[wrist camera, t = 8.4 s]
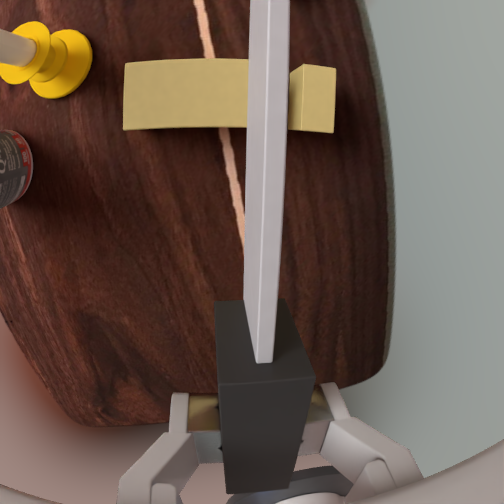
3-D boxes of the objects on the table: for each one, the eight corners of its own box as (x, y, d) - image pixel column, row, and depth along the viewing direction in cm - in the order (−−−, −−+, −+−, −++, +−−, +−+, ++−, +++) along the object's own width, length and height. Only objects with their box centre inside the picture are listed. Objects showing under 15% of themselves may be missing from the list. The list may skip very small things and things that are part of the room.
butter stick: (257, 128, 20) (265, 128, 17) (136, 129, 19) (122, 130, 16) (259, 70, 19) (268, 60, 16) (138, 72, 18) (124, 62, 15)
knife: (298, -2, 7) (346, -59, 3) (272, 418, 12) (288, 488, 9) (216, -7, 6) (222, -76, 3) (220, 421, 12) (226, 494, 9)
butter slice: (316, 131, 21) (333, 133, 18) (287, 129, 21) (300, 130, 17) (318, 76, 19) (336, 68, 16) (289, 72, 19) (303, 63, 16)
